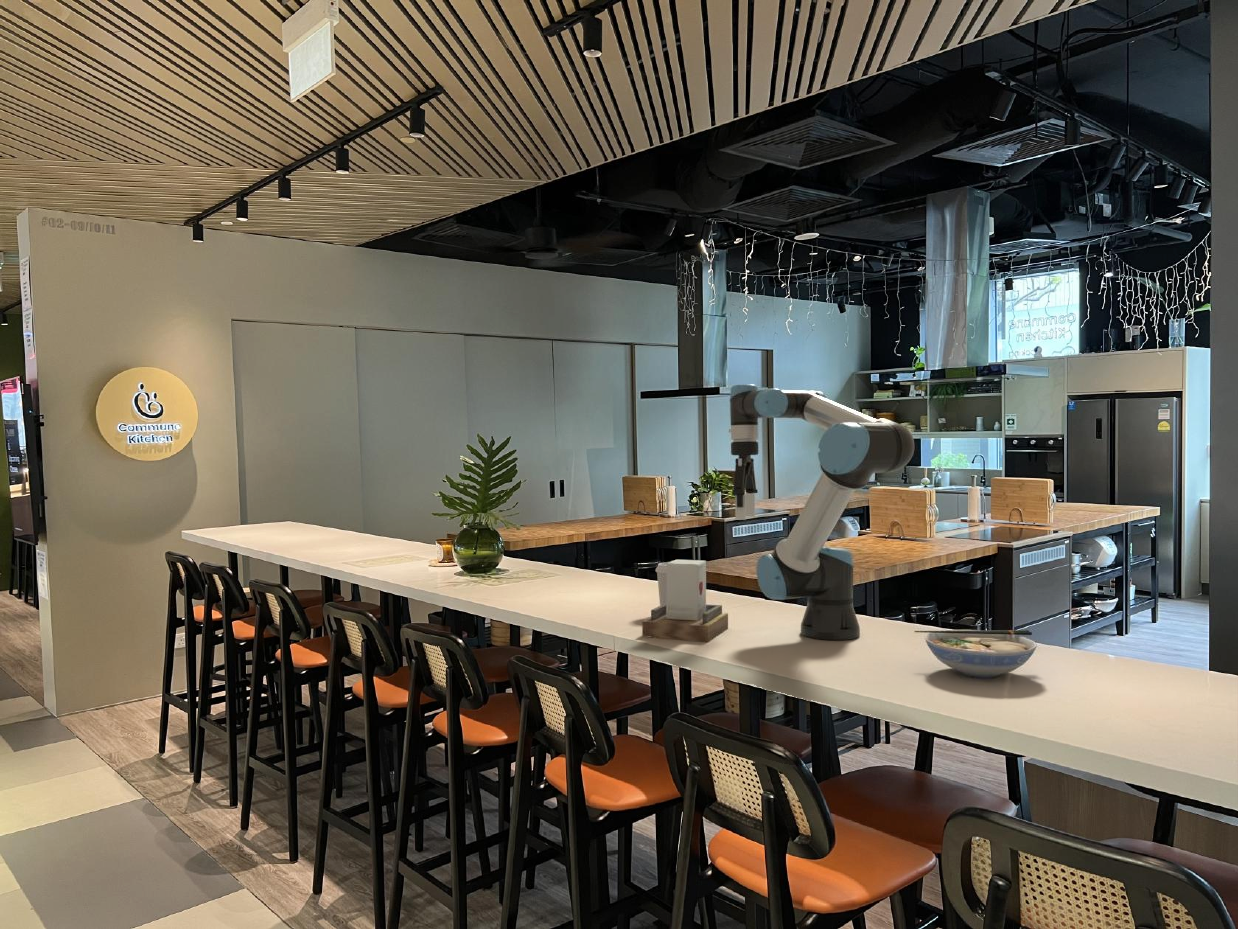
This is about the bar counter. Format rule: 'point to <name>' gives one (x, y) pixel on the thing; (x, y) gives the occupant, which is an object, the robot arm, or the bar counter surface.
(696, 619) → the supplement box
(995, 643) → the ramen bowl
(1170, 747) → the bar counter surface
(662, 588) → the coffee cup
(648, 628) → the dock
